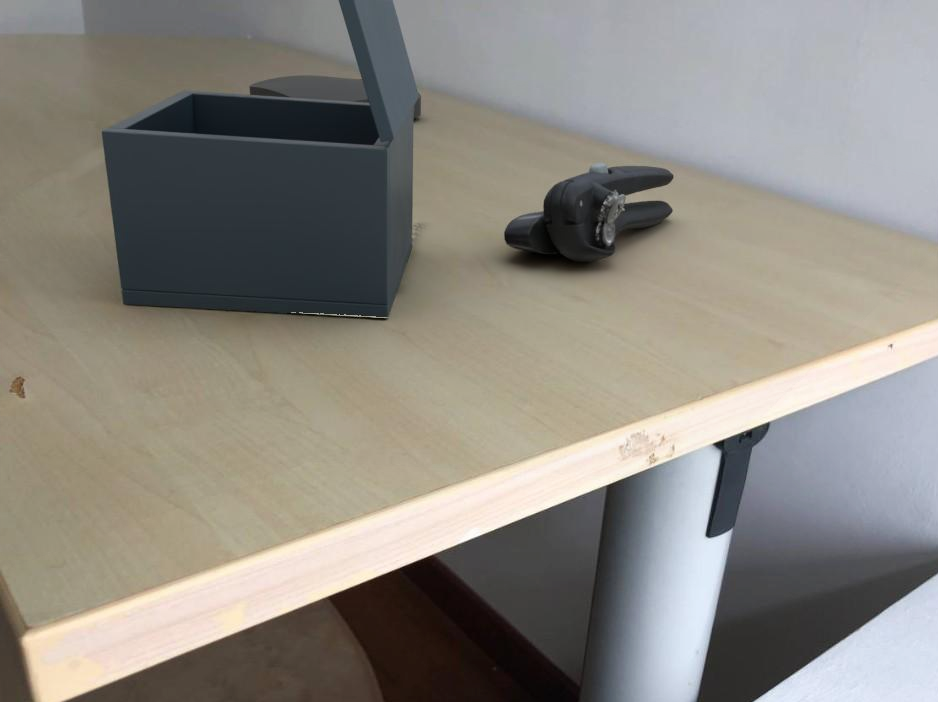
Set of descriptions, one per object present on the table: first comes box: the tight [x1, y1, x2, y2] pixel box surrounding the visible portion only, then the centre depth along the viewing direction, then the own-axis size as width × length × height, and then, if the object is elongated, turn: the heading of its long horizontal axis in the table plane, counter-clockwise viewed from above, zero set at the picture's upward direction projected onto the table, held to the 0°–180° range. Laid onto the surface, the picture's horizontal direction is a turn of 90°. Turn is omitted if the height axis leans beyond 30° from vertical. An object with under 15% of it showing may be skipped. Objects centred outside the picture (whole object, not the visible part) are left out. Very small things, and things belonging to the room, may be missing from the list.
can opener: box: [503, 162, 675, 263], centre depth 66 cm, size 18×7×6 cm, turn 147°
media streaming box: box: [249, 74, 422, 119], centre depth 101 cm, size 15×15×3 cm
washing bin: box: [101, 89, 415, 318], centre depth 55 cm, size 14×13×9 cm
